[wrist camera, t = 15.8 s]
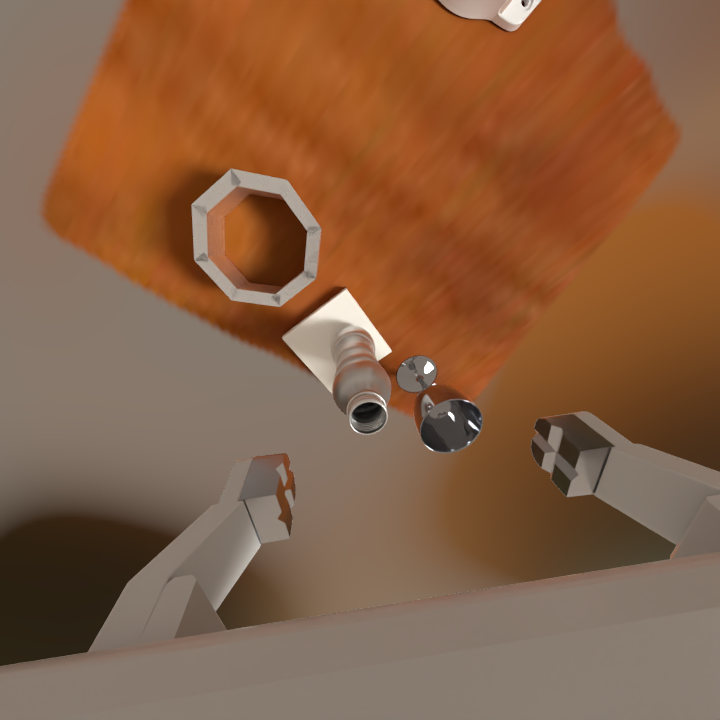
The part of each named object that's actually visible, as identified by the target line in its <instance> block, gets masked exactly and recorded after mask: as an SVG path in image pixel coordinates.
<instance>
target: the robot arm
mask: <svg viewBox="0 0 720 720" xmlns="http://www.w3.org/2000/svg"><path fill="white" fill-rule="evenodd" d="M439 1H440V2H441V3H442V4H443V5H444V6H445V7H446V8H447V9H449V10H450V11H452V12H453V13H455V14H457V15H459V16H462V17H465V18H470V19H487V20H491V21H493V22H494V23H495V24H497V25H498V26H500V27H501V28H503V29H505V30H507V31H515V30H516V29H518V28H519V27H520V25H521V24H522V23H523V22H524V21H525V19H526V18H527V17H528V16H529V15H530V14H531V12H532V11H533V10H534V9H535V8H536V6H537V5H538V4H539V3H540V2H541V0H439ZM521 1H523V2H524V3H525V7H523V6H522V4H521ZM534 429H535V430H536V431H537V434H536V436H534V438H533V439H532V443H531V450H532V454H533V457H534V459H535V460H536V462H537V464H538V465H539V466H540V467H541V468H542V469H544V470H546V471H548V472H550V473H551V480H552V481H553V482H554V483H555V485H556V486H557V487H558V488H559V489H560V490H561V491H562V493H563V494H564V495H565V496H566V497H572V496H580V495H589V494H595V496H596V497H598V498H600V499H601V500H603V501H605V502H606V503H608V504H610V505H611V506H613V507H615V508H616V509H618V510H620V511H621V512H623V513H624V514H626V515H628V516H630V517H631V518H633V519H634V520H636V521H638V522H639V523H641V524H643V525H644V526H646V527H648V528H649V529H651V530H653V531H654V532H656V533H658V534H659V535H661V536H662V537H664V538H666V539H668V540H669V541H671V542H672V543H674V544H676V545H677V546H676V548H675V549H674V551H673V552H672V554H671V556H670V559H669V560H663V561H657V562H650V563H644V564H639V565H632V566H625V567H619V568H613V569H607V570H600V571H594V572H588V573H582V574H576V575H569V576H563V577H557V578H550V579H544V580H538V581H532V582H525V583H519V584H513V585H506V586H500V587H494V588H488V589H482V590H476V591H469V592H463V593H457V594H451V595H444V596H438V597H432V598H426V599H420V600H414V601H408V602H401V603H395V604H388V605H383V606H376V607H370V608H363V609H357V610H351V611H345V612H338V613H332V614H326V615H320V616H313V617H307V618H301V619H295V620H288V621H282V622H276V623H270V624H264V625H257V626H252V627H245V628H239V629H232V630H226V628H225V626H224V625H223V623H222V621H221V620H220V618H219V617H218V615H217V613H216V610H217V609H218V607H219V606H220V604H221V603H222V601H223V600H224V599H225V597H226V595H227V594H228V593H229V591H230V590H231V588H232V587H233V585H234V584H235V583H236V581H237V580H238V578H239V577H240V575H241V574H242V572H243V571H244V569H245V568H246V566H247V565H248V563H249V562H250V560H251V559H252V558H253V556H254V555H255V553H256V552H257V550H258V549H259V548H260V546H261V545H260V544H261V543H267V542H273V541H278V540H284V539H289V538H290V535H291V528H292V520H293V516H292V512H291V507H293V505H294V504H295V497H296V485H295V478H294V474H293V472H291V471H290V470H289V467H290V460H289V457H288V454H286V453H283V454H275V455H266V456H257V457H252V458H243V459H238V460H237V461H236V462H235V464H234V466H233V469H232V472H231V474H230V476H229V479H228V481H227V483H226V486H225V488H224V491H223V493H222V496H221V498H220V500H219V503H218V504H215V505H212V506H211V507H210V508H209V509H208V510H207V511H206V512H205V513H203V514H202V515H201V516H200V517H199V518H198V519H197V520H196V521H195V522H194V523H192V524H191V526H189V527H188V528H187V529H186V530H185V531H184V532H183V533H182V534H180V535H179V536H178V537H177V538H176V539H175V540H174V541H173V542H172V543H171V544H169V546H167V547H166V548H165V549H164V550H163V551H162V552H161V553H160V554H159V555H158V556H156V557H155V558H154V559H153V560H152V561H151V562H150V563H149V564H148V565H147V566H145V567H144V568H143V569H142V570H141V571H140V572H139V573H138V574H137V575H136V576H135V577H133V578H132V579H131V580H130V581H129V582H128V583H127V585H126V587H125V588H124V590H123V592H122V594H121V595H120V598H119V599H118V601H117V602H116V604H115V606H114V608H113V609H112V611H111V613H110V615H109V616H108V618H107V620H106V622H105V623H104V625H103V627H102V629H101V630H100V632H99V634H98V635H97V638H96V639H95V641H94V643H93V644H92V646H91V648H90V649H89V651H88V653H82V654H75V655H69V656H63V657H56V658H50V659H44V660H38V661H31V662H25V663H19V664H12V665H6V666H0V720H720V472H718V471H715V470H712V469H709V468H706V467H704V466H701V465H698V464H695V463H692V462H690V461H687V460H684V459H681V458H678V457H675V456H672V455H670V454H667V453H664V452H661V451H658V450H656V449H652V448H650V447H647V446H644V445H641V444H633V443H631V442H630V441H629V440H627V439H626V438H625V437H623V436H622V435H620V434H619V433H618V432H616V431H615V430H613V429H612V428H611V427H609V426H608V425H606V424H605V423H603V422H602V421H601V420H600V419H598V418H597V417H595V416H594V415H593V414H591V413H589V412H586V411H583V412H576V413H570V414H565V415H558V416H552V417H545V418H539V419H538V420H537V421H536V423H535V427H534Z"/></svg>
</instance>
